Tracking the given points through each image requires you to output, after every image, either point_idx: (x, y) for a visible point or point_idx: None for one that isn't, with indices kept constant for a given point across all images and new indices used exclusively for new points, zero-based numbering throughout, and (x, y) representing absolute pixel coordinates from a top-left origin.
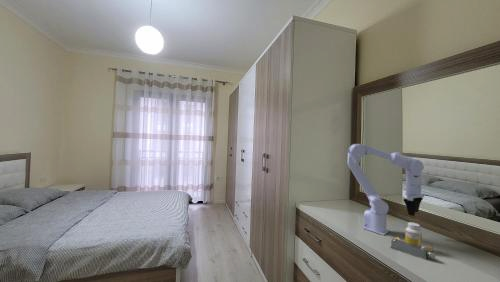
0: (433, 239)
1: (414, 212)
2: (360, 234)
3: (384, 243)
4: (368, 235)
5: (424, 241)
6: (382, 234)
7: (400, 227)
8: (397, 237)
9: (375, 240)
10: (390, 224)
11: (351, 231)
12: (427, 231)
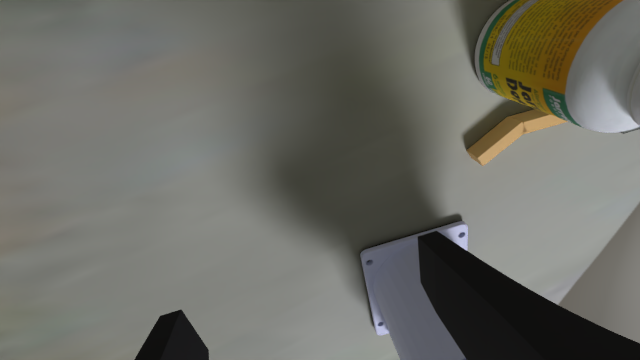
0: (171, 35)
1: (480, 263)
2: (548, 261)
3: (584, 153)
4: (531, 243)
5: (313, 54)
6: (465, 227)
7: (192, 270)
8: (484, 158)
9: (575, 193)
10: (210, 317)
11: (541, 293)
12: (3, 157)
